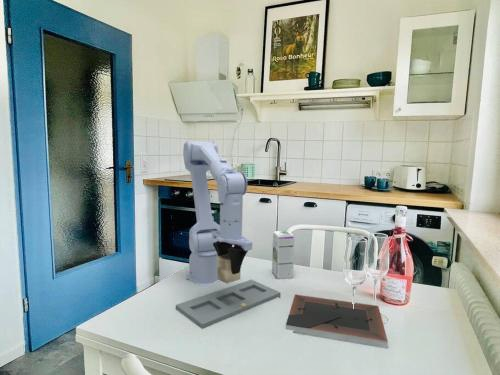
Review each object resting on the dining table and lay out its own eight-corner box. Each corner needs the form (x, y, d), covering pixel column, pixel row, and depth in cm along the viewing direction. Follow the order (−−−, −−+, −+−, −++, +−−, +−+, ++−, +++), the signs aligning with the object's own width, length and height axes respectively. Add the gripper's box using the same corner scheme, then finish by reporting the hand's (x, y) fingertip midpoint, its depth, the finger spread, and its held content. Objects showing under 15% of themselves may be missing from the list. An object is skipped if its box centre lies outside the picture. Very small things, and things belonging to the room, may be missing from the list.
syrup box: (293, 278, 105) (295, 234, 103) (276, 279, 104) (277, 235, 102) (287, 271, 111) (289, 230, 109) (271, 272, 109) (272, 230, 108)
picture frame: (285, 334, 74) (386, 351, 68) (285, 323, 74) (387, 340, 68) (294, 302, 90) (377, 314, 84) (295, 293, 89) (378, 304, 84)
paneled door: (175, 311, 82) (175, 303, 82) (251, 284, 99) (251, 278, 99) (202, 331, 73) (202, 323, 73) (280, 298, 90) (280, 291, 90)
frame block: (217, 278, 85) (217, 256, 84) (230, 274, 88) (231, 252, 87) (226, 283, 82) (226, 260, 81) (240, 279, 85) (240, 256, 84)
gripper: (202, 216, 86) (202, 266, 88) (237, 227, 75) (236, 283, 77) (223, 213, 91) (222, 260, 92) (259, 223, 80) (257, 276, 82)
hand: (230, 270), depth 85 cm, fingers closed on frame block, 4 cm apart
